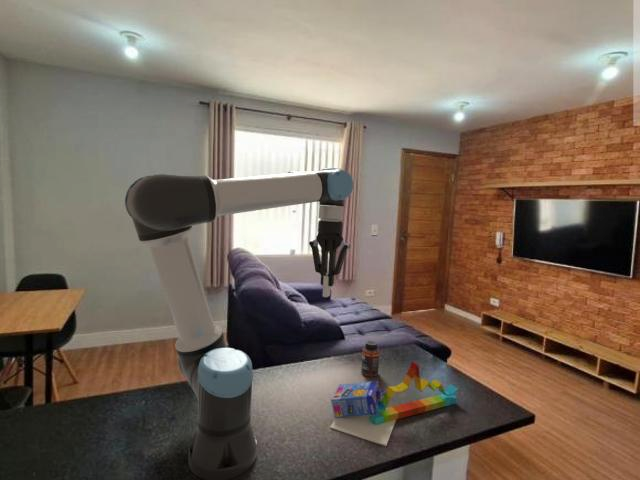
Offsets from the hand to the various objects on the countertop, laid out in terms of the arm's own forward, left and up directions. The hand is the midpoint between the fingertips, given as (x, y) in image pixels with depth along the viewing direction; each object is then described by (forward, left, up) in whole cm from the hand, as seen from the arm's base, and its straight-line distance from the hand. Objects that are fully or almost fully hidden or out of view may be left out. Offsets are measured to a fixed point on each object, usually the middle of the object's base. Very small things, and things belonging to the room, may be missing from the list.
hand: (326, 295), depth 109 cm
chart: (+29, +2, -30) cm, 42 cm away
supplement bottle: (+11, +18, -31) cm, 37 cm away
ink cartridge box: (+8, -8, -28) cm, 30 cm away
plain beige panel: (+18, -9, -30) cm, 36 cm away
